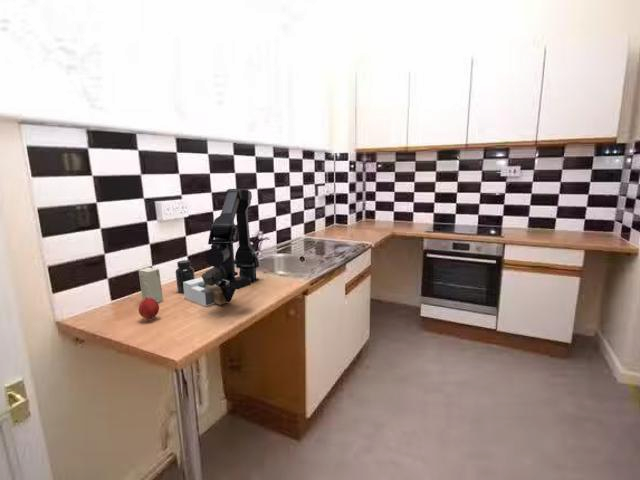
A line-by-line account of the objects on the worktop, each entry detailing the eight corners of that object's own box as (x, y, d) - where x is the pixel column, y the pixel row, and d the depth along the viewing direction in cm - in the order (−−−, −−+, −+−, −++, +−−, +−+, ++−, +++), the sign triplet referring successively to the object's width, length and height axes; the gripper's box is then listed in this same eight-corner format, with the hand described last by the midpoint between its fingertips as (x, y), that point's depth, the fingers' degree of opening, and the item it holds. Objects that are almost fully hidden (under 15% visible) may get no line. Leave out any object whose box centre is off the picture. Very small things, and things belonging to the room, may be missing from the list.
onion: (137, 319, 108) (134, 295, 106) (156, 314, 111) (153, 291, 110) (143, 325, 103) (140, 300, 102) (162, 319, 107) (160, 295, 106)
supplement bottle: (190, 286, 139) (187, 258, 137) (199, 290, 135) (196, 260, 132) (174, 291, 134) (171, 261, 131) (183, 294, 129) (180, 264, 127)
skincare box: (163, 301, 123) (160, 269, 121) (152, 305, 119) (148, 272, 117) (152, 298, 126) (149, 266, 124) (141, 302, 123) (137, 269, 120)
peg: (213, 295, 126) (212, 285, 126) (229, 301, 120) (228, 290, 119) (203, 298, 123) (202, 288, 123) (220, 304, 117) (219, 293, 116)
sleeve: (208, 290, 134) (206, 275, 132) (230, 298, 125) (229, 282, 124) (184, 298, 126) (183, 282, 125) (206, 306, 117) (205, 289, 116)
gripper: (188, 259, 114) (192, 303, 117) (222, 268, 103) (225, 316, 106) (216, 253, 122) (219, 293, 126) (250, 260, 111) (253, 305, 114)
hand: (228, 301), depth 117 cm, fingers closed
